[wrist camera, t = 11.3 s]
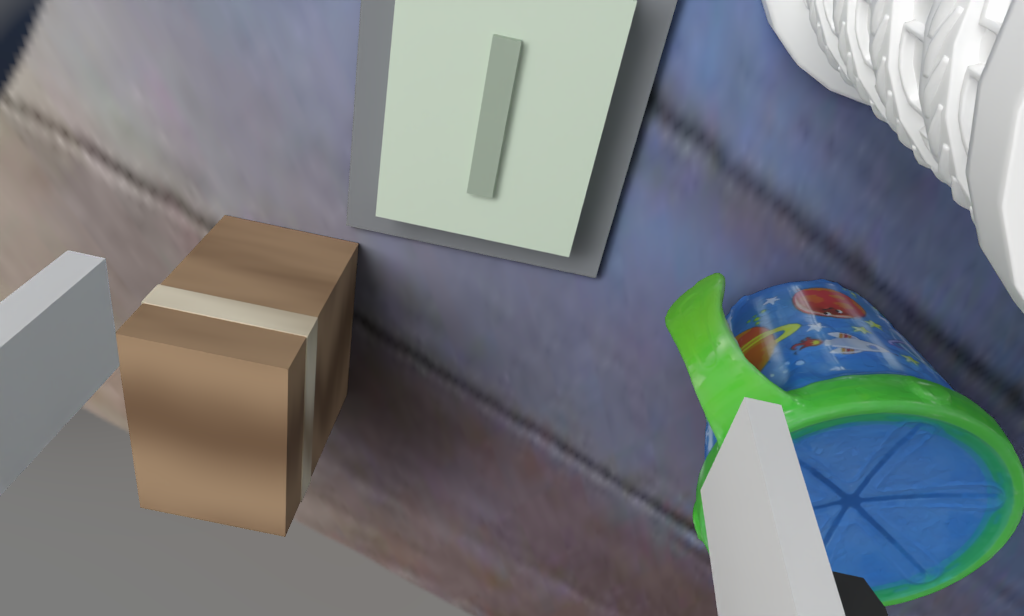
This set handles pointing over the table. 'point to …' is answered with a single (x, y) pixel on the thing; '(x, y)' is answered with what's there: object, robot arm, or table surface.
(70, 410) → the robot arm
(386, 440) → the table surface
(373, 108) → the mat
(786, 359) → the snack cup
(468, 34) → the lid
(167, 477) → the walnut box
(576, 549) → the table surface
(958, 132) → the decorative container
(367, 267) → the table surface
